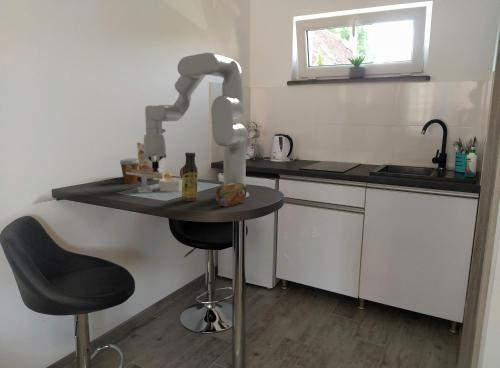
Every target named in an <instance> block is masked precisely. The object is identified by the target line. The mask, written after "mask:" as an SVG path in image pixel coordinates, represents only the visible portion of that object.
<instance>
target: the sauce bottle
mask: <svg viewBox="0 0 500 368" xmlns="http://www.w3.org/2000/svg"><path fill="white" fill-rule="evenodd" d="M184 156H185V163H184V165H183V166H184V167H183V166H182V167H183V175H182V190H181V198H182V199H181V200H182V202H183V201H184V202H194V201H195V202H196V201H197V198H198V183H199V182H198V177H199V171H198V172H197V170H198V167H197V165H196V152H193V151H187V152H186V151H185V154H184Z"/></svg>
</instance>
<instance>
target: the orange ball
mask: <svg viewBox="0 0 500 368" xmlns="http://www.w3.org/2000/svg"><path fill="white" fill-rule="evenodd" d="M164 178H166V179H171V178H173V175H172V173H171V172H166V173H164Z"/></svg>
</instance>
